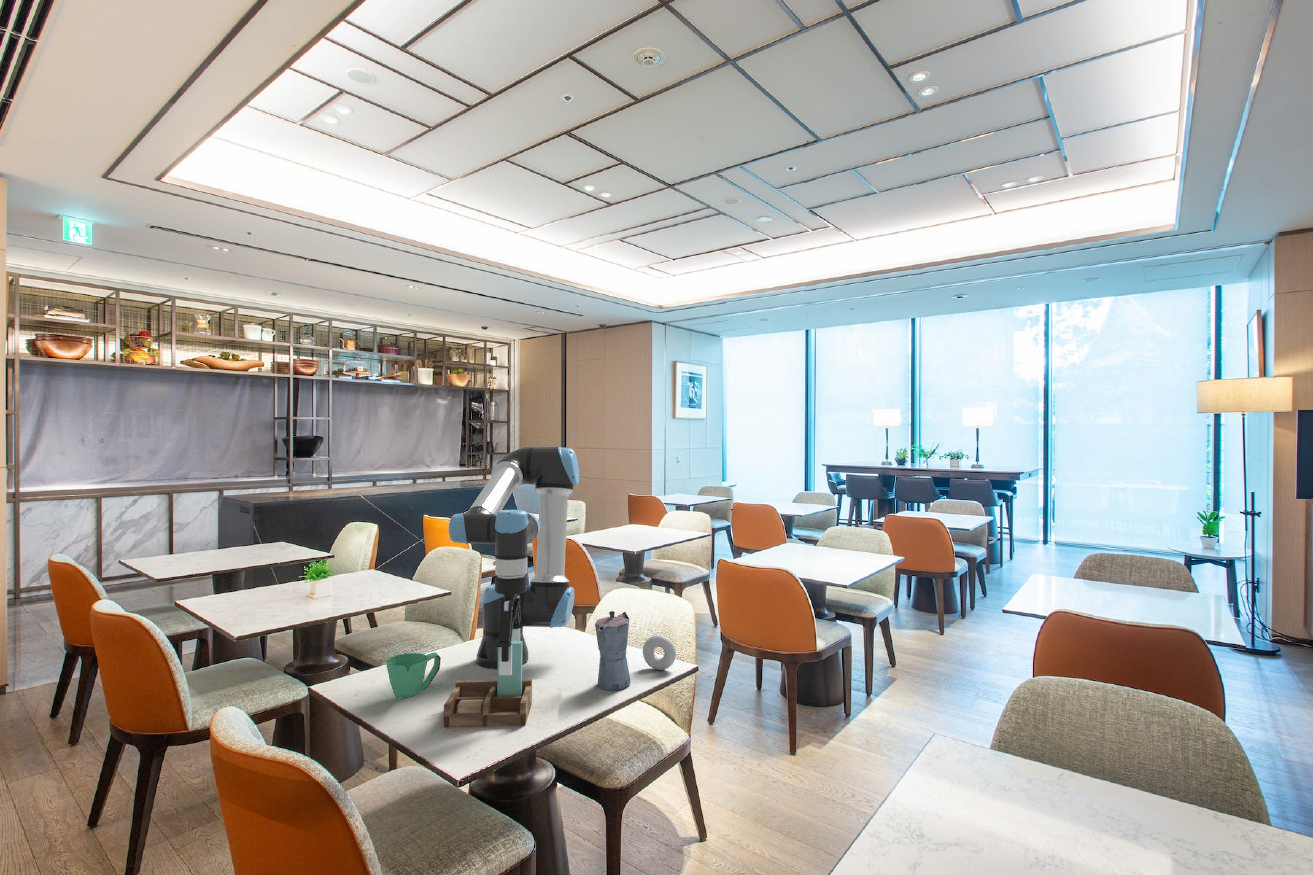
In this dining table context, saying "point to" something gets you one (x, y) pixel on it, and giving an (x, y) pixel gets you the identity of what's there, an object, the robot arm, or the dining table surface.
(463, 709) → the offcut top
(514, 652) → the panel
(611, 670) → the moka pot
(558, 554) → the robot arm
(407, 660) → the mug
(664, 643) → the donut
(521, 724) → the rack
